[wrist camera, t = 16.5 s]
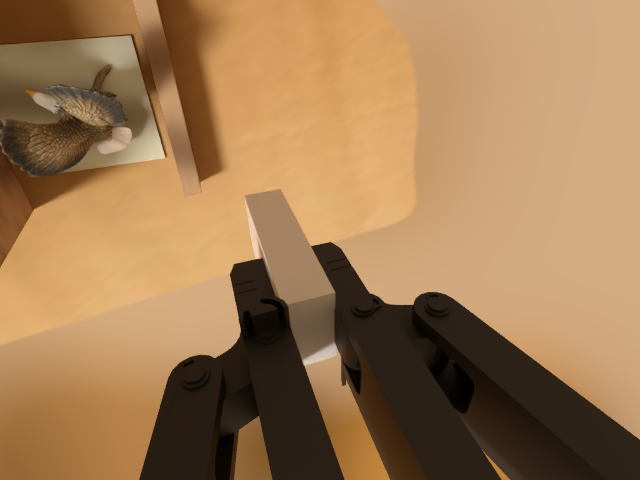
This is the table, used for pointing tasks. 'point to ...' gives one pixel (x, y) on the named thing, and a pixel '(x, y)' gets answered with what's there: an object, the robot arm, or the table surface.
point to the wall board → (123, 80)
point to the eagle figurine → (66, 129)
